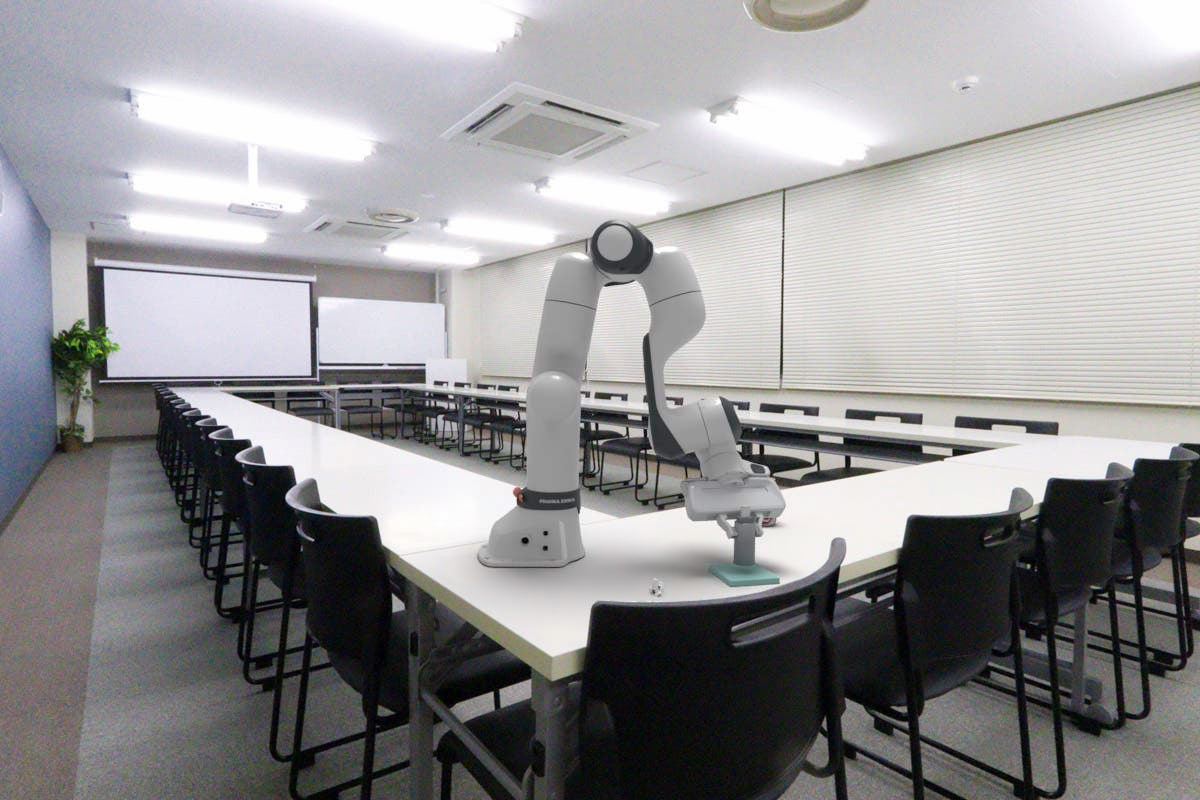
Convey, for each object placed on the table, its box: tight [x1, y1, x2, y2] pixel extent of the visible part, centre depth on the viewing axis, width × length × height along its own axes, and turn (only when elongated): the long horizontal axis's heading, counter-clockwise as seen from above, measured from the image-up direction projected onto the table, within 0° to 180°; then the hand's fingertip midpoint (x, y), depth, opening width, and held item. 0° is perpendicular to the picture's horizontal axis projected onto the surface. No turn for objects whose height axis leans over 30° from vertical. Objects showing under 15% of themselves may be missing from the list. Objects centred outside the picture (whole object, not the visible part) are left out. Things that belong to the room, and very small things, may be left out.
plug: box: [733, 505, 756, 566], centre depth 121 cm, size 4×4×11 cm
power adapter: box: [649, 577, 665, 597], centre depth 112 cm, size 3×3×3 cm
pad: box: [708, 561, 781, 588], centre depth 122 cm, size 10×10×1 cm
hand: (746, 536), depth 121 cm, fingers closed on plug, 4 cm apart
